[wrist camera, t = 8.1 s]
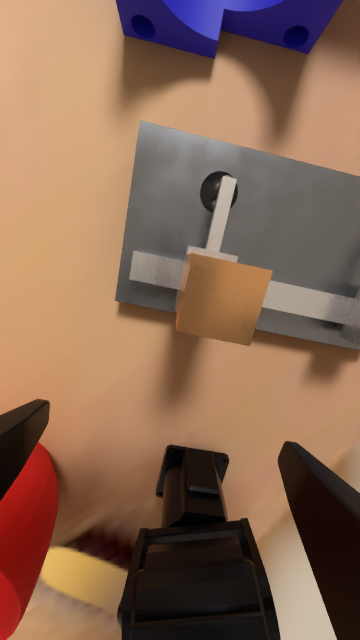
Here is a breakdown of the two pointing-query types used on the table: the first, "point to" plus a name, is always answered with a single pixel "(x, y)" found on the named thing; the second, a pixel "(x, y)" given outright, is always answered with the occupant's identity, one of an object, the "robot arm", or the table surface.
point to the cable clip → (226, 22)
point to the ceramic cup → (25, 535)
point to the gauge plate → (246, 230)
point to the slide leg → (219, 284)
